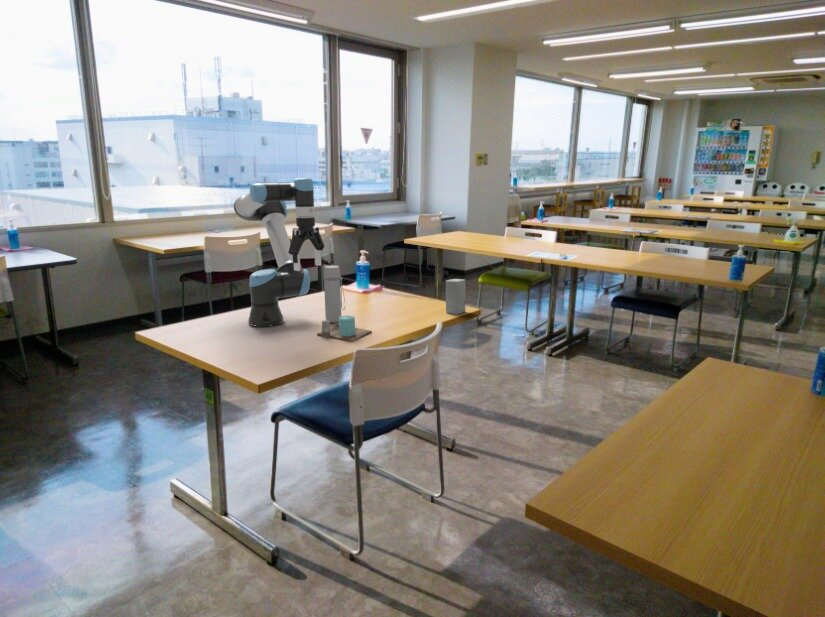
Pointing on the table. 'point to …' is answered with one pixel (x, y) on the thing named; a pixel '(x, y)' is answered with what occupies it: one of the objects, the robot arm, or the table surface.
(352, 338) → the stud board
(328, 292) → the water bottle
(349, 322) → the cap
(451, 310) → the skincare box
